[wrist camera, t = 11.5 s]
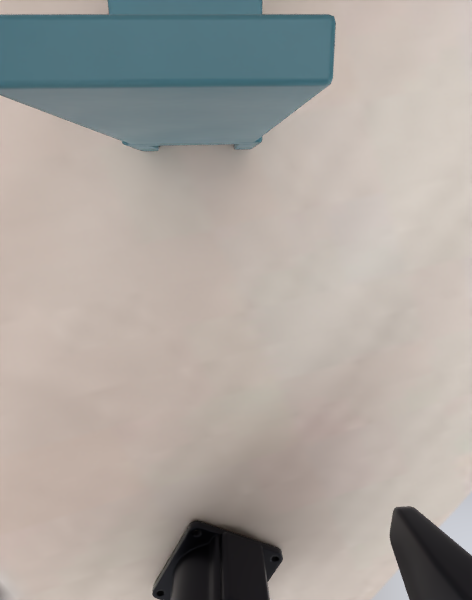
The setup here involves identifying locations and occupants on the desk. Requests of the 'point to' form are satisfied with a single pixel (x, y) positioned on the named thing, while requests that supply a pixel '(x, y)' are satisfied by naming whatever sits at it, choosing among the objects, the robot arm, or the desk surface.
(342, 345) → the desk surface
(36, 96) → the chair
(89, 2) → the desk surface
